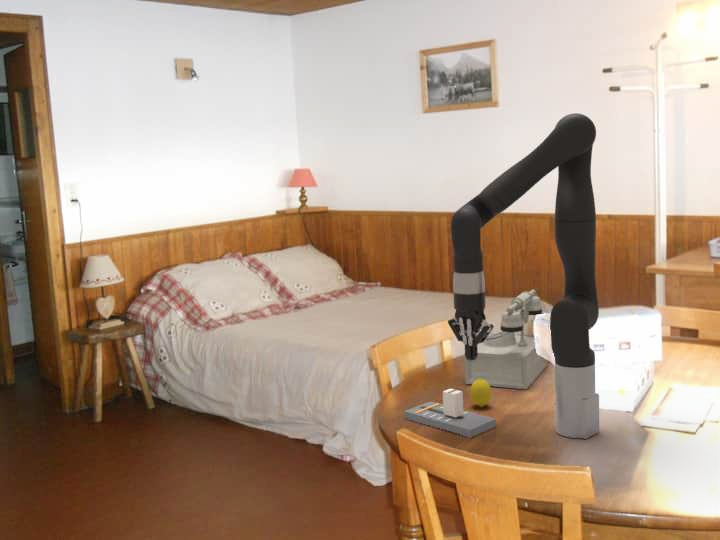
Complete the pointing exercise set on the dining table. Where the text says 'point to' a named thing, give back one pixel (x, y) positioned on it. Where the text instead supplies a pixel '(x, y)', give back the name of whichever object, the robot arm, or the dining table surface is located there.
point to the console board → (450, 419)
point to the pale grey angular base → (509, 349)
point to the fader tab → (453, 402)
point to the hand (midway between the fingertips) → (471, 359)
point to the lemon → (480, 392)
